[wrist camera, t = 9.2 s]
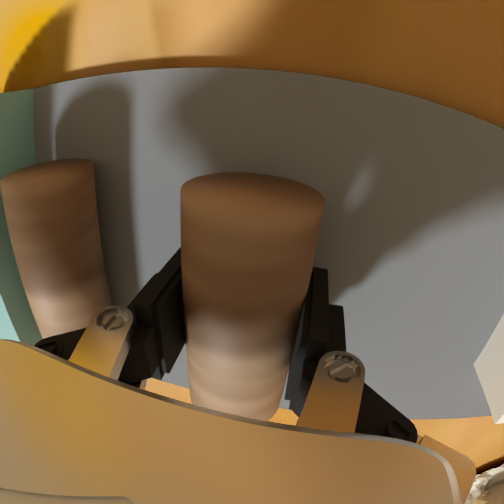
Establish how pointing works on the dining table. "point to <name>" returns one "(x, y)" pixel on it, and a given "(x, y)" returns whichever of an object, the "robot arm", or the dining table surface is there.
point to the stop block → (3, 260)
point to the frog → (488, 487)
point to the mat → (335, 208)
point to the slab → (493, 372)
